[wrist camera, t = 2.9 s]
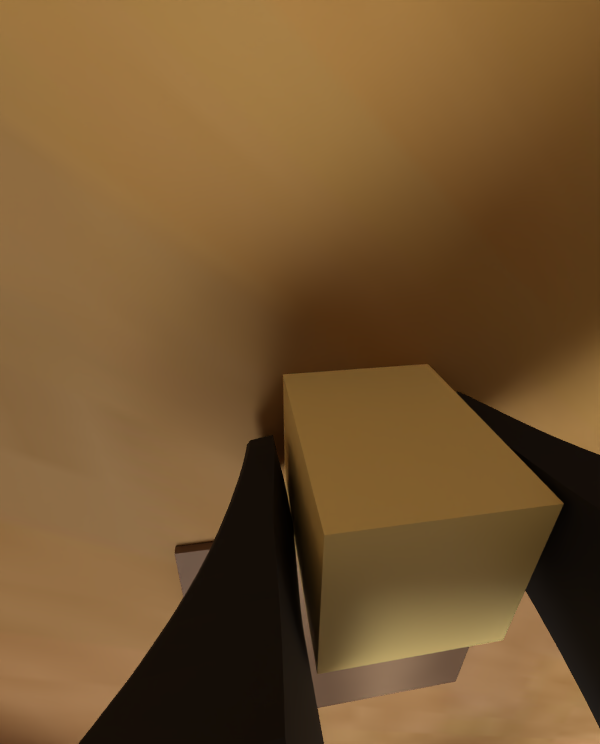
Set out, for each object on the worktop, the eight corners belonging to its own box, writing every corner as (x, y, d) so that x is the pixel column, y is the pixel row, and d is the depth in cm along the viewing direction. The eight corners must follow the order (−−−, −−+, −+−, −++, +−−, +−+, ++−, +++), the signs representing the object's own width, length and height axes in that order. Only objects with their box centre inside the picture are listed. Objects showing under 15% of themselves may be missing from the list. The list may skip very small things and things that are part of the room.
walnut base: (502, 485, 15) (522, 509, 14) (444, 655, 21) (455, 681, 20) (178, 523, 13) (174, 553, 12) (211, 697, 19) (210, 728, 18)
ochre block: (413, 349, 12) (564, 503, 6) (397, 455, 14) (503, 640, 8) (278, 358, 11) (324, 535, 6) (281, 467, 13) (317, 674, 8)
